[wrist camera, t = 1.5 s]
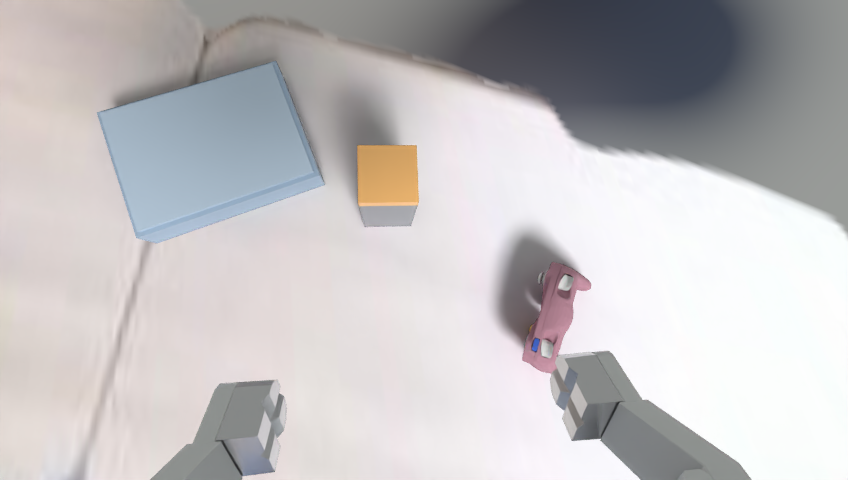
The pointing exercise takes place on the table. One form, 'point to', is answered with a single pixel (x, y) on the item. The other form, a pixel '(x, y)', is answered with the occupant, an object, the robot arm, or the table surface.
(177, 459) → the robot arm
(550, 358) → the video game controller
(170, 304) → the table surface
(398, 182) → the block
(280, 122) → the stand
